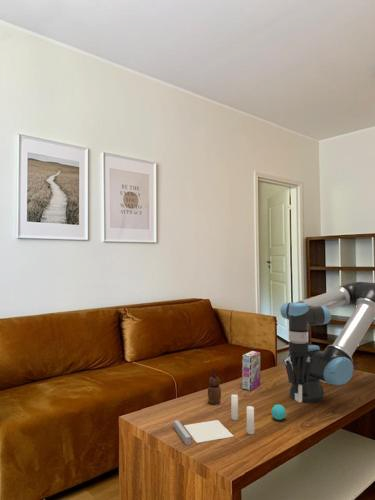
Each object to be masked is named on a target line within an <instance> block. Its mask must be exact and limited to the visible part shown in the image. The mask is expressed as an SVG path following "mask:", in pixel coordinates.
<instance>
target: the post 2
mask: <svg viewBox="0 0 375 500" xmlns="http://www.w3.org/2000/svg"><path fill="white" fill-rule="evenodd" d="M246 434H248V435H254V434H255V407H254V406H252V405H248V406H246Z"/></svg>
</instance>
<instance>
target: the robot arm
mask: <svg viewBox="0 0 375 500" xmlns="http://www.w3.org/2000/svg"><path fill="white" fill-rule="evenodd" d="M339 306H341V307H346V306H356V308H355V309H354V311H353V312H352V314H351V315H350V316H349V318H348V319H347V322H346V323H345V325H344V327H342V329H341V331H340V332H339V334H338V336H337V337H336V338H335V340H334V342H333V343H332V344H329V345H327V346H326V347H325V349H324V350H323V351H322V350H321V349H320V346H319V345H316V344H309V327H310V326H322V325H323V326H324V325H326V324H329V323H330V321H331V319H332V314H331V311H330V310H331V309H333V308H336V307H339ZM280 315H281V317H282V318H283V319H284V320H288V350H289V352H288V353H289V354H288V357H287V358H286V359H283V361H282V362H283V364H284V365H285V370H286V374H287V380H288V383H289V384H290V387H289V392H288V394H289V397H290V398H291V399H292V400H294V401H295V402H298V403H308V404H317V403H318V404H319V403H321V402H323V401H324V400H325V392H324V389H323V385H322V383H321V382H320V380H323V381H326V382H328V383H330V384H335V385H334V386H342V385H346V384H347V383H348V382H349V381H350V380H351V379H352V377H353V375H354V372H353V371H354V363H353V361H354V360H353V358H352V357H353V354H354V352H356V349H357V348H358V346H359V344H360V343H361V341H362V340H363V338H364V336H365V334H366V333H367V331H368V330H369V328H370V327H371V324H373V321H374V320H375V282H367V281H355V282H349V283H346V284H344V285H340V286H337V287H335V288H334V289H333V290H331V291H328V292H324V293H322V294H319V295H315V296H312V297H309V298H306V299H303V300H300V301H296V302H291V301H290V302H284V303H283V304H282V305H281V307H280Z"/></svg>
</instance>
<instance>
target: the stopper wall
mask: <svg viewBox="0 0 375 500" xmlns="http://www.w3.org/2000/svg"><path fill="white" fill-rule="evenodd" d="M173 428H174V430H175V431H176V433H177V434H178V435H179V437H180V439H181V440H182V441H183V443H184V444H185V445H186V446H190V445H191V442H192V440H191V439H192V436H191V435H190V434H189V432H188V431H187V430H186V428H185V427H184V425H183V424H182V423H181V422H180V421H179V419H177V420H175V419H174V420H173Z"/></svg>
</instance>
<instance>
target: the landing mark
mask: <svg viewBox="0 0 375 500" xmlns="http://www.w3.org/2000/svg"><path fill="white" fill-rule="evenodd" d="M183 427H184V429H185V430H186V431H187V433H188V434H189V435H190V437H191V439H193V441H194V442H195V443H196V444H200V443H207V442H212V441H216V440H222V439H228V438H229V439H230V438H233V437H235V436H234V435H233V434H232V433H231V432H230V431H229V430H228V429H227V428H226V427H225V426H224V424H222V422H221V421H219V420H218V419H216V420H215V419H214V420H208V421H202V422H196V423H191V424H184V425H183Z"/></svg>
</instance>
